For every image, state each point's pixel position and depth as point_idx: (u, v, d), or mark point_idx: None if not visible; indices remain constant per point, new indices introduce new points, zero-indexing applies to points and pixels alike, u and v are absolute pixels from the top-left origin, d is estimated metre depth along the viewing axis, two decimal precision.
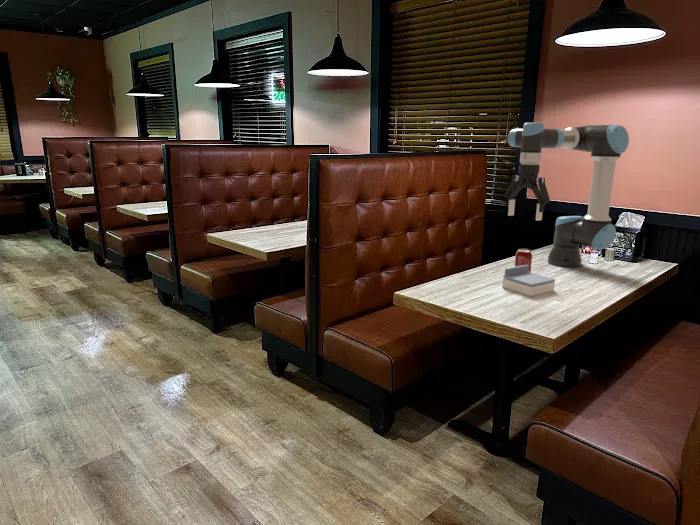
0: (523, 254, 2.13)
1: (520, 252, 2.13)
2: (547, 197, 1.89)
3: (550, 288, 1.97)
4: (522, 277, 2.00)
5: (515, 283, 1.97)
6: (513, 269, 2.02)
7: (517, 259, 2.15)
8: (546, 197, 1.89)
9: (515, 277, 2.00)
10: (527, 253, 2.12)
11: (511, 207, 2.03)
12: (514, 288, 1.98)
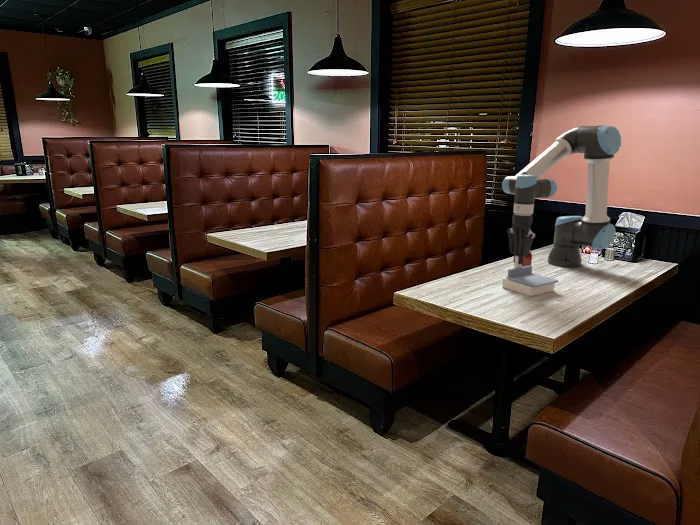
0: None
1: None
2: (527, 252, 1.99)
3: (550, 288, 1.97)
4: (525, 278, 1.99)
5: (515, 283, 1.97)
6: (516, 270, 2.01)
7: None
8: (526, 252, 1.99)
9: (518, 278, 1.98)
10: None
11: None
12: (514, 288, 1.98)
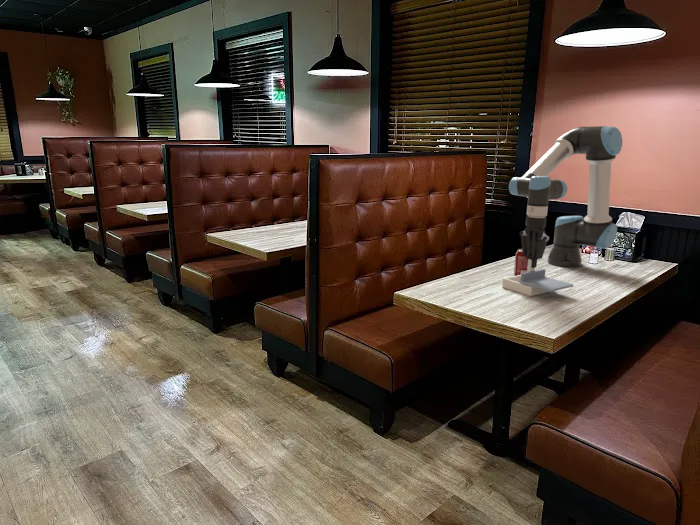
0: None
1: (520, 252, 2.13)
2: (541, 255, 1.94)
3: None
4: (539, 282, 1.93)
5: (515, 283, 1.97)
6: (529, 274, 1.96)
7: (517, 259, 2.15)
8: (540, 255, 1.93)
9: (532, 282, 1.93)
10: None
11: None
12: (514, 288, 1.98)
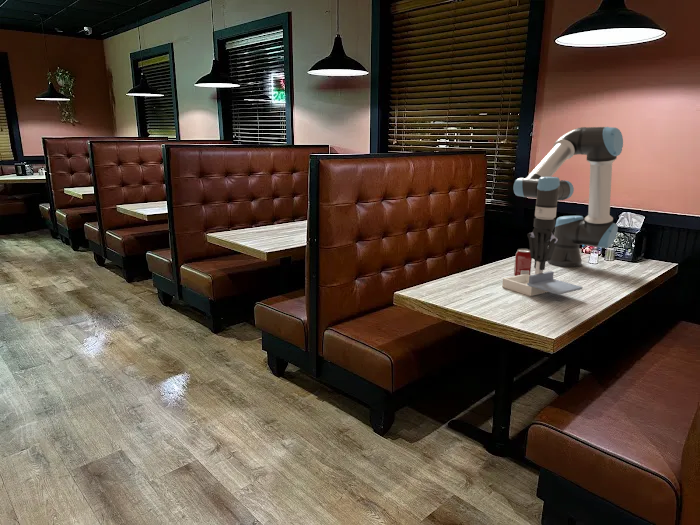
0: (523, 254, 2.13)
1: (520, 252, 2.13)
2: (549, 257, 1.91)
3: None
4: (547, 285, 1.90)
5: (515, 283, 1.97)
6: (537, 276, 1.92)
7: (517, 259, 2.15)
8: (548, 257, 1.90)
9: (540, 285, 1.90)
10: (527, 253, 2.12)
11: None
12: (514, 288, 1.98)
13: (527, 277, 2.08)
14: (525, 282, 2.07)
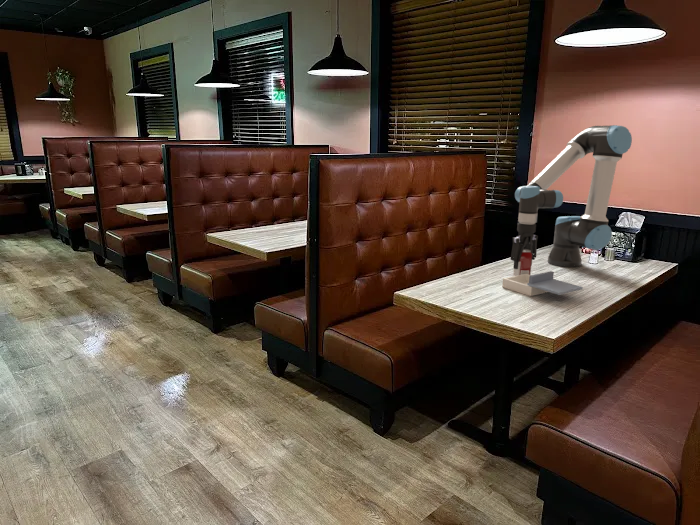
0: (523, 254, 2.13)
1: None
2: (513, 256, 2.12)
3: None
4: (548, 285, 1.90)
5: (515, 283, 1.97)
6: (537, 276, 1.92)
7: None
8: (512, 256, 2.12)
9: (540, 285, 1.90)
10: (527, 253, 2.12)
11: None
12: (514, 288, 1.98)
13: (527, 277, 2.08)
14: (525, 282, 2.07)
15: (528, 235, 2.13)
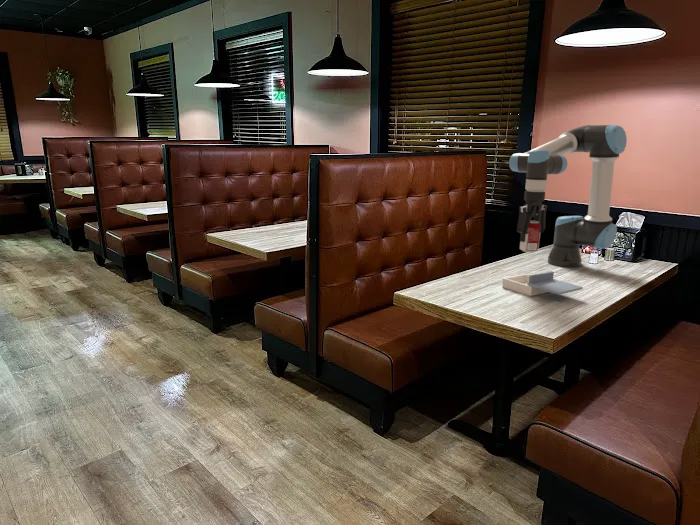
0: (530, 225, 1.93)
1: None
2: (520, 227, 1.92)
3: None
4: (548, 285, 1.90)
5: (515, 283, 1.97)
6: (537, 276, 1.92)
7: None
8: (518, 227, 1.93)
9: (540, 285, 1.90)
10: (535, 224, 1.93)
11: None
12: (514, 288, 1.98)
13: (527, 277, 2.08)
14: (525, 282, 2.07)
15: (536, 204, 1.93)
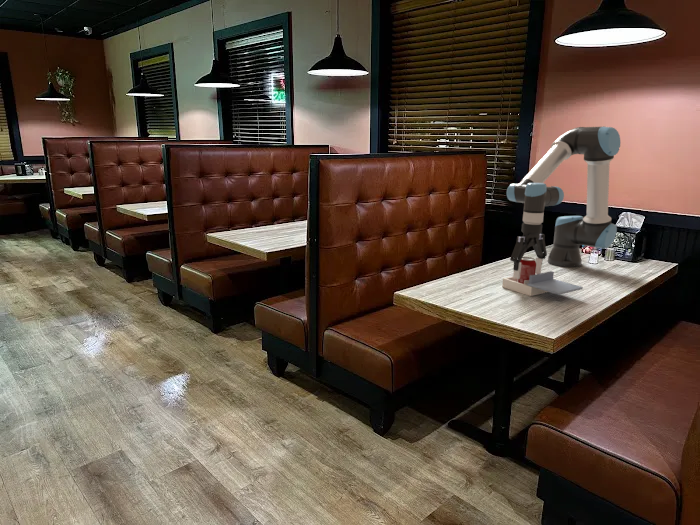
0: (527, 263, 1.96)
1: (523, 260, 1.96)
2: (514, 256, 1.94)
3: None
4: (548, 285, 1.90)
5: (515, 283, 1.97)
6: (537, 276, 1.92)
7: None
8: (513, 256, 1.94)
9: (540, 285, 1.90)
10: (531, 261, 1.96)
11: (536, 265, 2.03)
12: (514, 288, 1.98)
13: None
14: None
15: (533, 236, 1.96)
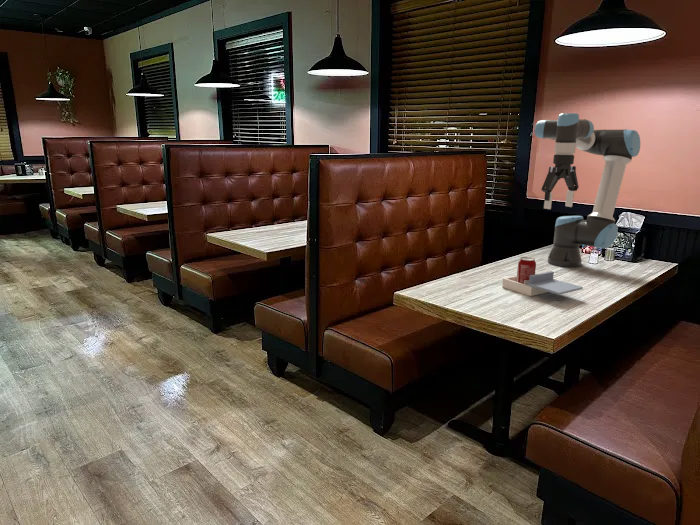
0: (526, 263, 1.96)
1: (523, 260, 1.96)
2: (545, 186, 1.94)
3: None
4: (548, 285, 1.90)
5: (515, 283, 1.97)
6: (537, 276, 1.92)
7: (520, 268, 1.98)
8: (544, 185, 1.95)
9: (540, 285, 1.90)
10: (531, 261, 1.96)
11: (567, 198, 2.05)
12: (514, 288, 1.98)
13: None
14: None
15: (565, 168, 1.97)
